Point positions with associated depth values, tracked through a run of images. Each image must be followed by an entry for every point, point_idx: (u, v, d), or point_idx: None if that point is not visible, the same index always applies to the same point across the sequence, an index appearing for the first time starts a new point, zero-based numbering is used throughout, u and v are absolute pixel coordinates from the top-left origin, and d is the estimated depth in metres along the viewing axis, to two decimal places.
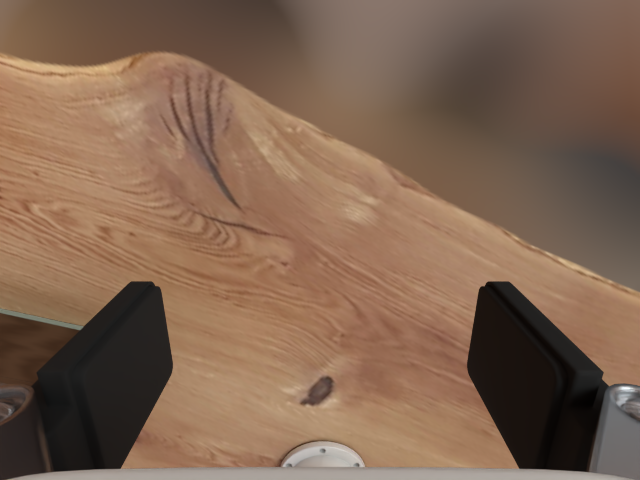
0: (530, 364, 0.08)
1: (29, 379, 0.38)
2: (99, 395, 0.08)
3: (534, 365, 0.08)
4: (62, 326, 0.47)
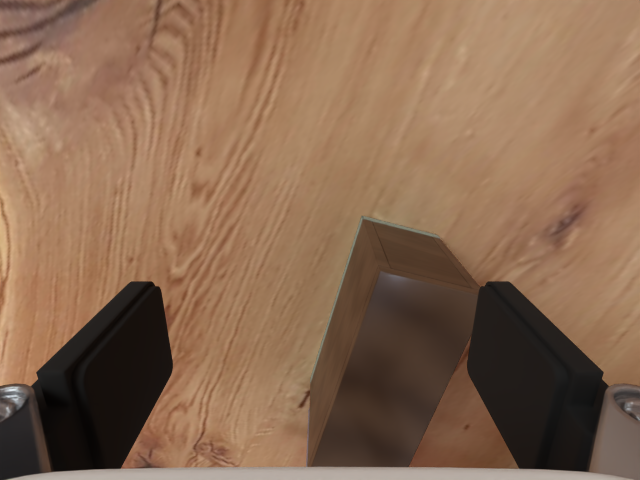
0: (530, 364, 0.08)
1: (362, 305, 0.23)
2: (99, 395, 0.08)
3: (534, 365, 0.08)
4: (346, 273, 0.32)
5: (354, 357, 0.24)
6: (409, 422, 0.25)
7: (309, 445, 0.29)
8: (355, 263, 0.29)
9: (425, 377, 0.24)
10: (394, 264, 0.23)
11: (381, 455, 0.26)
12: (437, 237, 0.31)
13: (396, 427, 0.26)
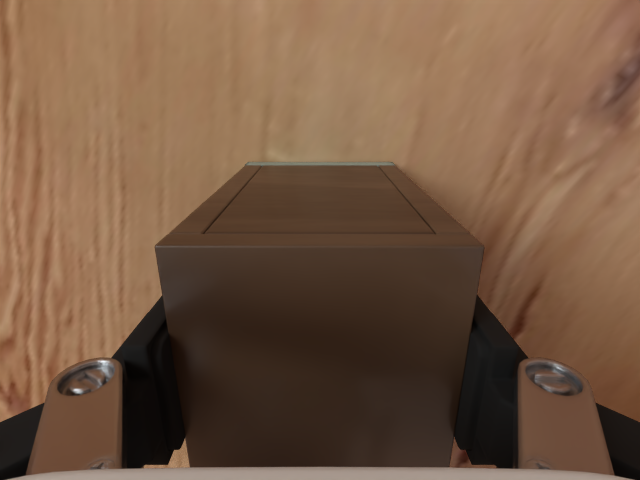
0: None
1: None
2: (171, 370, 0.08)
3: None
4: None
5: None
6: None
7: None
8: None
9: None
10: (227, 222, 0.09)
11: None
12: (389, 164, 0.17)
13: None
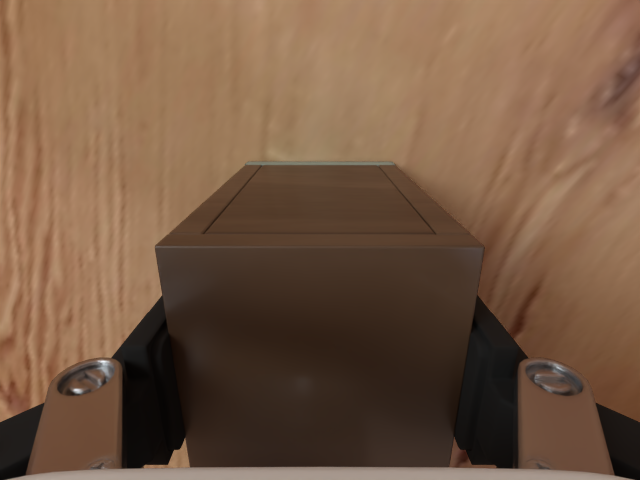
0: None
1: None
2: (171, 370, 0.08)
3: None
4: None
5: (201, 466, 0.10)
6: None
7: None
8: None
9: None
10: (227, 222, 0.09)
11: None
12: (389, 164, 0.17)
13: None
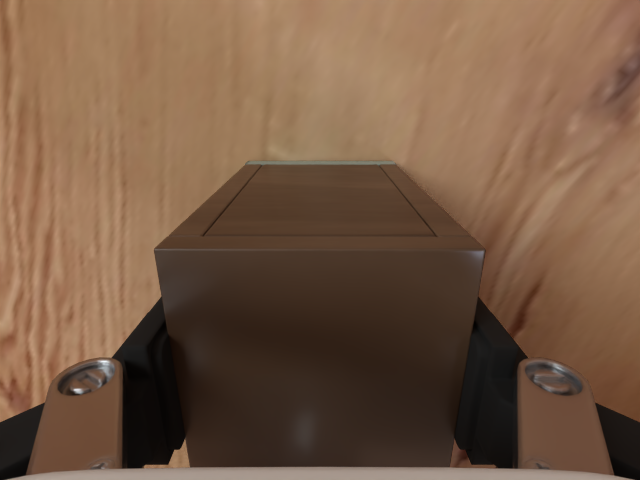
0: None
1: None
2: (171, 370, 0.08)
3: None
4: None
5: None
6: None
7: None
8: None
9: None
10: (227, 224, 0.09)
11: None
12: (390, 163, 0.17)
13: None
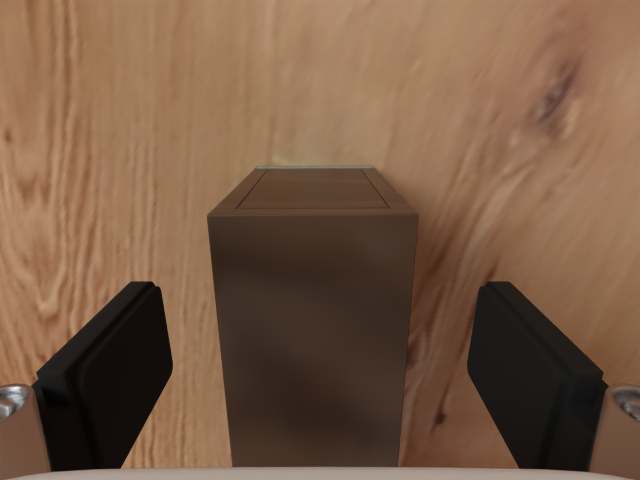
0: (530, 364, 0.08)
1: None
2: (99, 395, 0.08)
3: (534, 365, 0.08)
4: None
5: (231, 376, 0.14)
6: (365, 460, 0.15)
7: None
8: None
9: (361, 381, 0.14)
10: (250, 203, 0.13)
11: None
12: (369, 167, 0.21)
13: None
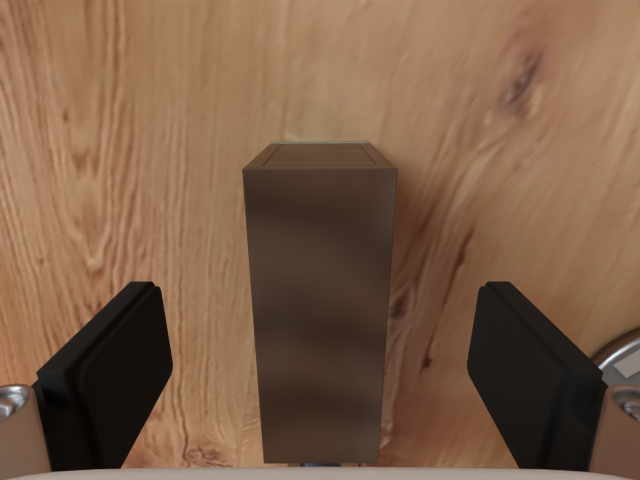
0: (530, 364, 0.08)
1: None
2: (99, 395, 0.08)
3: (534, 365, 0.08)
4: None
5: (257, 294, 0.18)
6: (359, 364, 0.20)
7: None
8: None
9: (356, 299, 0.18)
10: (272, 163, 0.18)
11: (340, 414, 0.21)
12: (366, 142, 0.25)
13: (345, 374, 0.20)
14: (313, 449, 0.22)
